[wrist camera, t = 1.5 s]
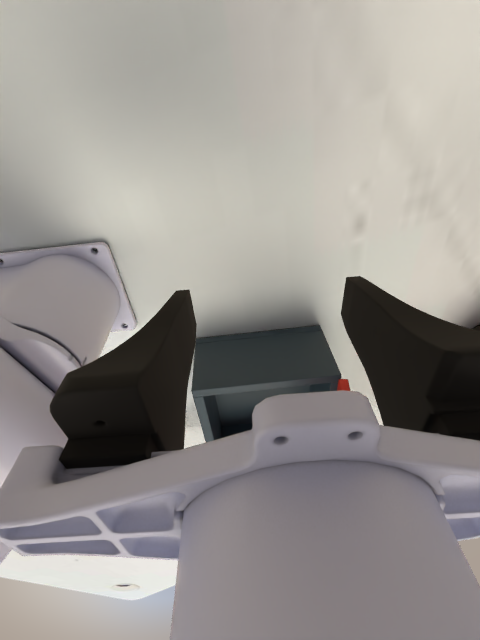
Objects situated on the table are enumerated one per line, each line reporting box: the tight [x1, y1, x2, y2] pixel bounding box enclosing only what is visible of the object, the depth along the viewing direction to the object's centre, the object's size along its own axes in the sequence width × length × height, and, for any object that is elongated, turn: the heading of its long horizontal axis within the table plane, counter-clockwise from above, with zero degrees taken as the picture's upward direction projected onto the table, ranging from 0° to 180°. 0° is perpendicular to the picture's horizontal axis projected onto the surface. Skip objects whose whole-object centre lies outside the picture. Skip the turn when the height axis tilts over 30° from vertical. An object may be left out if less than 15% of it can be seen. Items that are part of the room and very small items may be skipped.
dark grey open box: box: [192, 325, 341, 442], centre depth 31 cm, size 12×14×6 cm
